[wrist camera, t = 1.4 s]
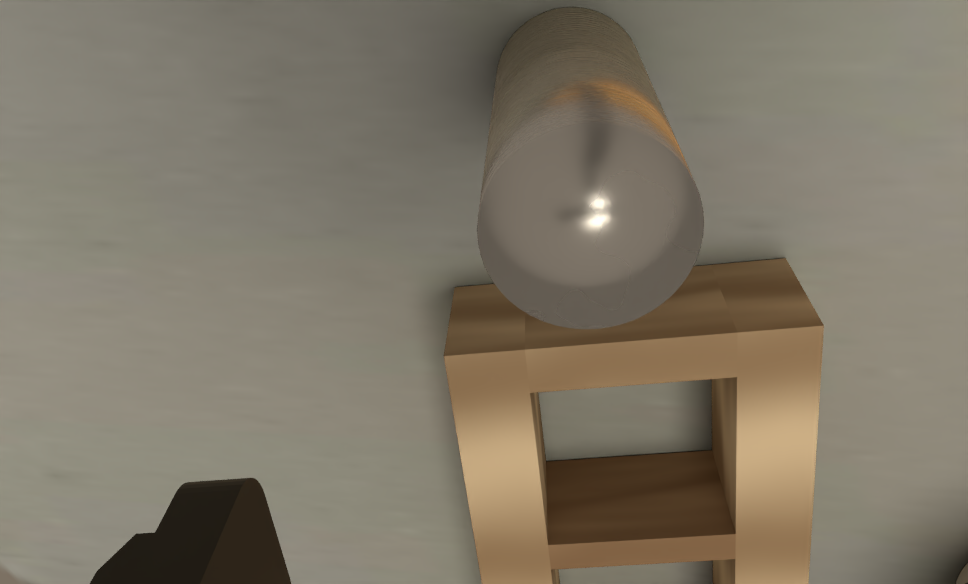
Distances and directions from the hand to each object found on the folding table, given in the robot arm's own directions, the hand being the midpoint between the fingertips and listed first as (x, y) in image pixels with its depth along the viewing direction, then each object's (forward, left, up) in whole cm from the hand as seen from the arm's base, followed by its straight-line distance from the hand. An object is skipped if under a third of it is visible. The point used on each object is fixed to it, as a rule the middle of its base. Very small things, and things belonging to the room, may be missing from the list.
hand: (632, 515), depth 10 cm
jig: (+13, +1, -17) cm, 22 cm away
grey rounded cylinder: (0, 0, -17) cm, 17 cm away
